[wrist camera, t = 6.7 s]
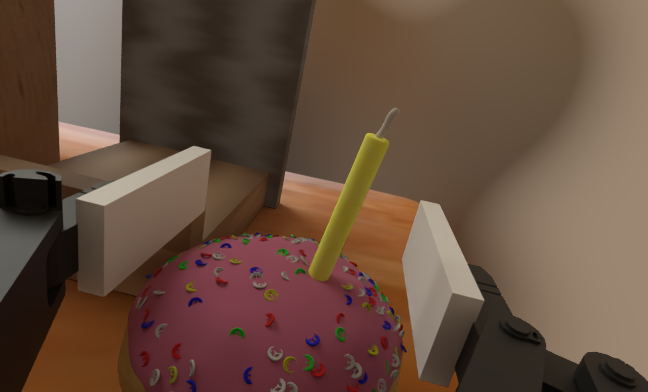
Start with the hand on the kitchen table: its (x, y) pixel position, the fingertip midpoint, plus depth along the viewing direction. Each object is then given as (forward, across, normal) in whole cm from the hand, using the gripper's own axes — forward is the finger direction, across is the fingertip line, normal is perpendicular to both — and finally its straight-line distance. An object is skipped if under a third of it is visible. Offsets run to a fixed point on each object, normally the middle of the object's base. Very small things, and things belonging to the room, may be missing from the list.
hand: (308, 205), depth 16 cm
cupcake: (-5, 0, -7) cm, 9 cm away
